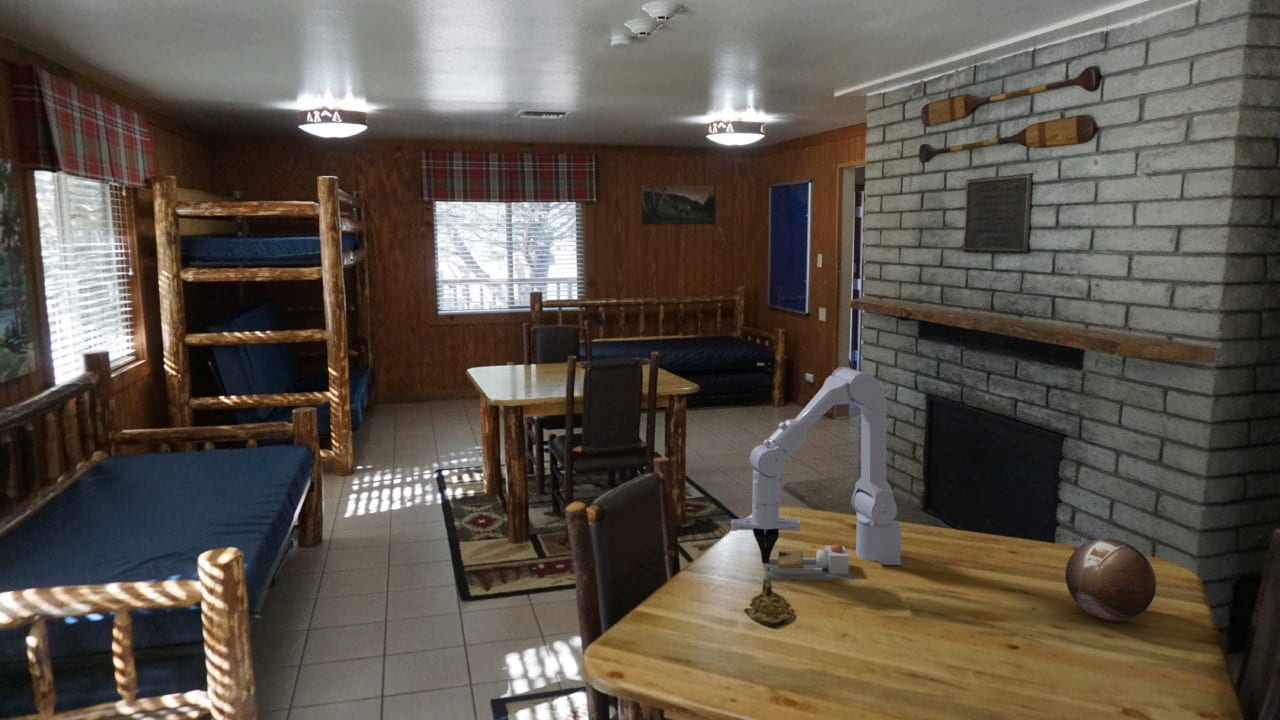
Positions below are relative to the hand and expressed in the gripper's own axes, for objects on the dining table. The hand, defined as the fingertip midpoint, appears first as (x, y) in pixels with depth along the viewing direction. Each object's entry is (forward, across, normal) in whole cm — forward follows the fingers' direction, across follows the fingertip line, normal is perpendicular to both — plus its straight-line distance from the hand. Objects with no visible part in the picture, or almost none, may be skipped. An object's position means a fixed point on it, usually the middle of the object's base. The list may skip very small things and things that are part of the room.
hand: (765, 561), depth 184 cm
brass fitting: (+1, -5, 0) cm, 5 cm away
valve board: (+2, -9, 0) cm, 9 cm away
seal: (+3, +1, +19) cm, 19 cm away
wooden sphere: (+3, -63, +20) cm, 66 cm away
